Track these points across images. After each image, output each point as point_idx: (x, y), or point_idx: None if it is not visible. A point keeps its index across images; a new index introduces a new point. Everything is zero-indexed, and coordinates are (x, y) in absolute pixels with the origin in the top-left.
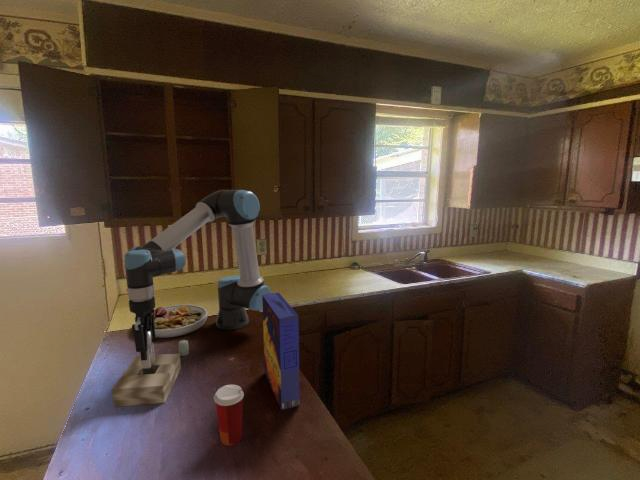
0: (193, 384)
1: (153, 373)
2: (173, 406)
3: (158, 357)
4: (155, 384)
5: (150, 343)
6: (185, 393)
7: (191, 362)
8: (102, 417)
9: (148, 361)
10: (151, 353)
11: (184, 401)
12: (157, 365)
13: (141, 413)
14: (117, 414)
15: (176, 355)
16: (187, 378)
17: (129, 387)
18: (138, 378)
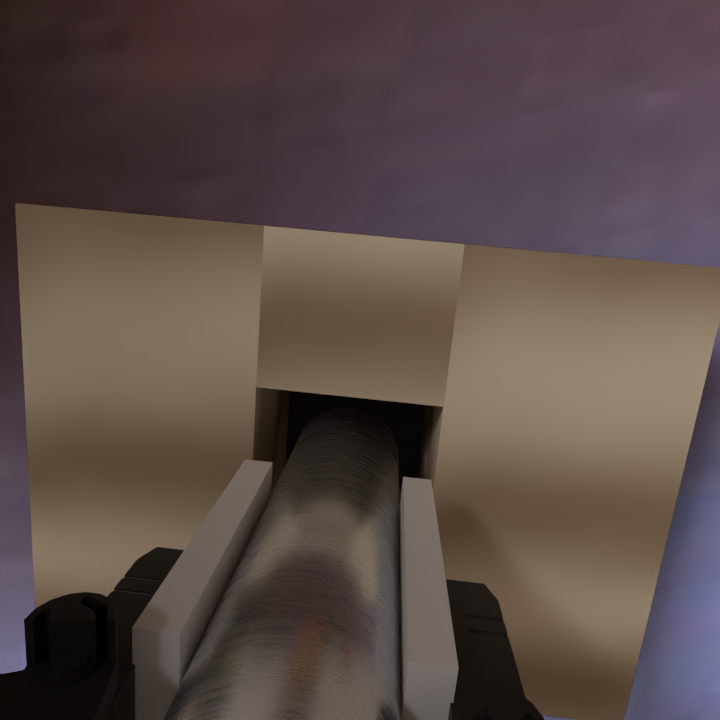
0: (419, 42)
1: (368, 424)
2: (714, 175)
3: (90, 435)
4: (676, 356)
5: (331, 712)
6: (549, 98)
7: (22, 124)
8: (667, 642)
9: (436, 536)
10: (351, 553)
11: (673, 87)
12: (256, 413)
13: (717, 408)
14: (667, 562)
15: (64, 235)
16: (303, 119)
17: (645, 591)
18: (494, 546)
